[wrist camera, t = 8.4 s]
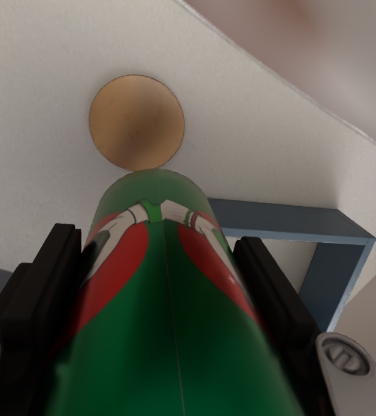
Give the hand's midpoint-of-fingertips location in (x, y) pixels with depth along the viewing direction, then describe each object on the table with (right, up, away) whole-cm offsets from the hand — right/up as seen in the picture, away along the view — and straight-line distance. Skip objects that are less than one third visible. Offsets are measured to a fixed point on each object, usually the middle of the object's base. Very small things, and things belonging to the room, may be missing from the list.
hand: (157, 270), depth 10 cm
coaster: (-3, +9, +15) cm, 18 cm away
